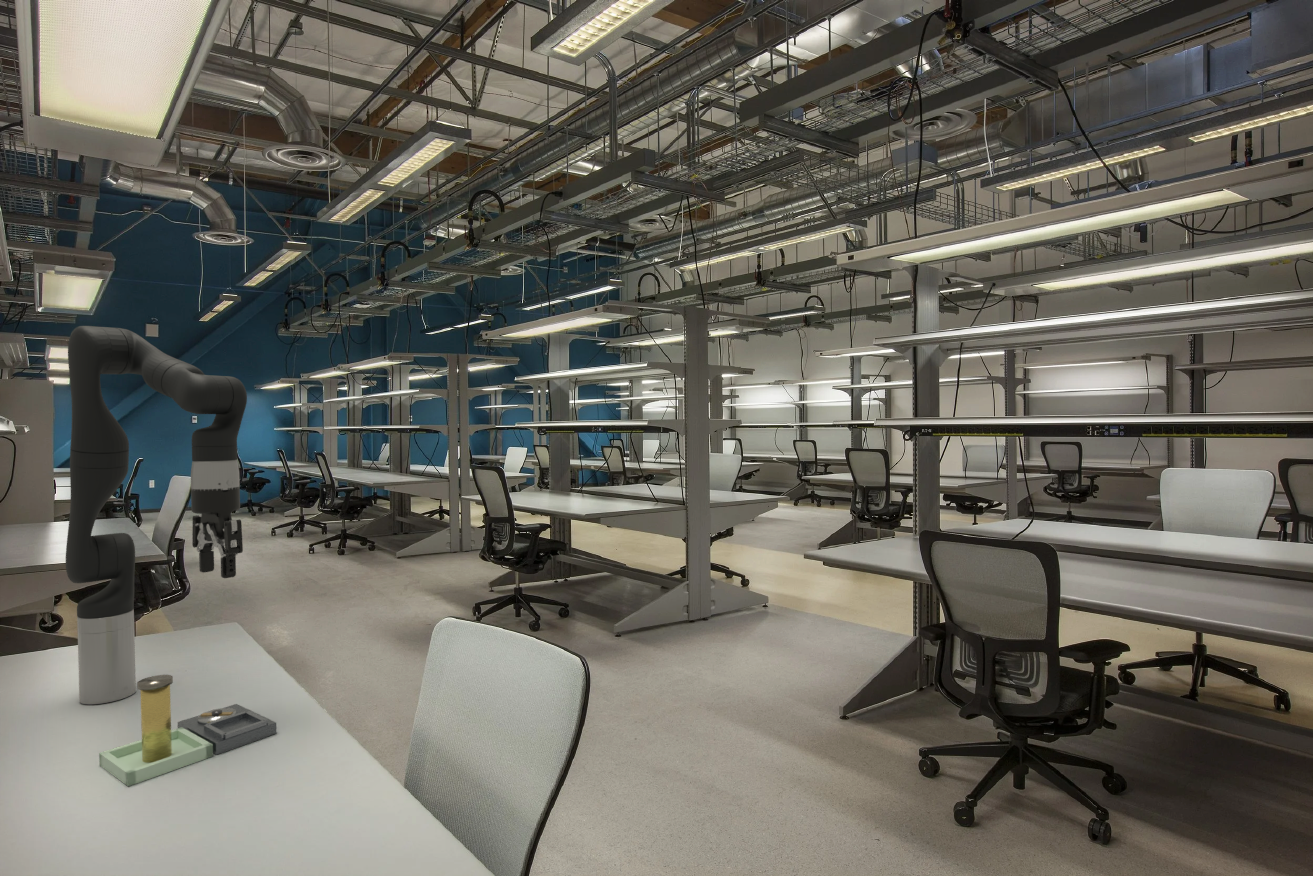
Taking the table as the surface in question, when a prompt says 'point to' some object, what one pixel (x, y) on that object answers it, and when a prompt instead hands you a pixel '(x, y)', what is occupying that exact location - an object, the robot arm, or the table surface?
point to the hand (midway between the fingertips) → (217, 574)
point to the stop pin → (155, 717)
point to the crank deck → (229, 727)
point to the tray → (133, 770)
